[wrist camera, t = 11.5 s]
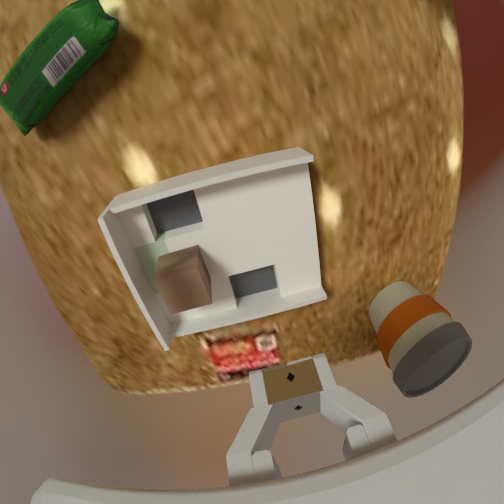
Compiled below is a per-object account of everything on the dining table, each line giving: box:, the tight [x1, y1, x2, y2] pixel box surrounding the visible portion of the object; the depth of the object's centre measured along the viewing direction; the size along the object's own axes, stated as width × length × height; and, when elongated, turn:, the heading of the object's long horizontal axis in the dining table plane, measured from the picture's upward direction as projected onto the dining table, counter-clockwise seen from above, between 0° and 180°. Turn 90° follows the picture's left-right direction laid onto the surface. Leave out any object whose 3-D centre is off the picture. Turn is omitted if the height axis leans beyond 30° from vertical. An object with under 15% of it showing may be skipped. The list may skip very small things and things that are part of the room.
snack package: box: [0, 0, 119, 136], centre depth 18 cm, size 7×16×5 cm, turn 126°
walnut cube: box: [153, 245, 212, 314], centre depth 30 cm, size 4×4×4 cm
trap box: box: [97, 147, 327, 351], centre depth 31 cm, size 20×17×6 cm
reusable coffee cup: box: [369, 281, 472, 397], centre depth 37 cm, size 12×13×15 cm
